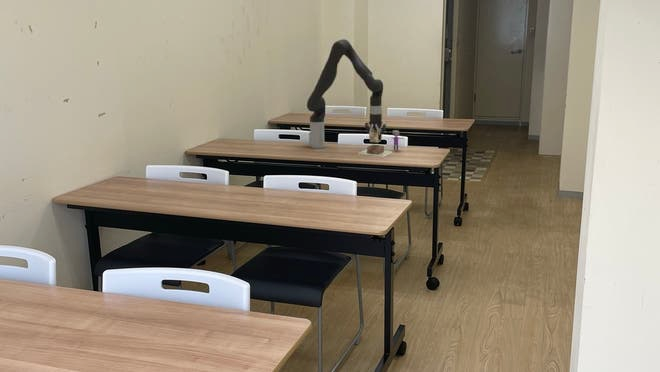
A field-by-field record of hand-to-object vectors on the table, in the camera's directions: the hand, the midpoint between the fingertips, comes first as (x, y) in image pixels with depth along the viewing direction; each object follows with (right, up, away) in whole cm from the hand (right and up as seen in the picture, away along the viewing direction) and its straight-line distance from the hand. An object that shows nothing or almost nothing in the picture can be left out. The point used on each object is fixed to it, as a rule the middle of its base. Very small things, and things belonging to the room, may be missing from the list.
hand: (375, 139), depth 385 cm
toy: (+13, -8, +6) cm, 17 cm away
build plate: (0, -9, +3) cm, 9 cm away
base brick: (0, -8, +2) cm, 8 cm away
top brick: (0, -1, 0) cm, 1 cm away
